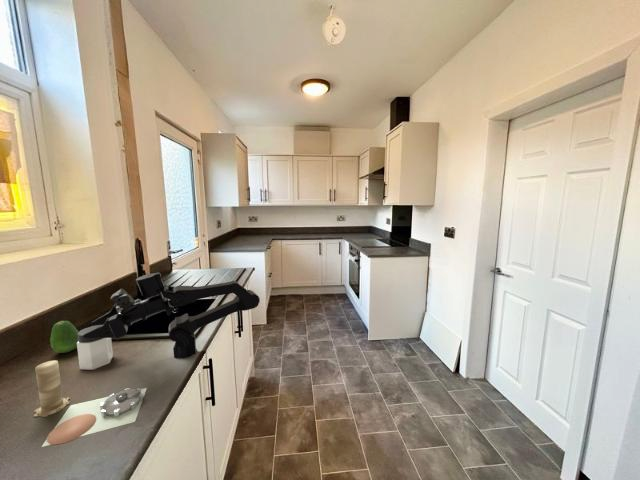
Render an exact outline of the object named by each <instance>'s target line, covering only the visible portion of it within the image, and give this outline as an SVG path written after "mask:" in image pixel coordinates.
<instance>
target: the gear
mask: <svg viewBox="0 0 640 480" xmlns="http://www.w3.org/2000/svg"><path fill="white" fill-rule="evenodd" d="M141 389H142V388H140V387H137V388H129V387H128V388H124V389H123V390H120V391H118V392H116V393H112V394H110V395H108V397H109V398H108V399H107V400H106V401H105V402H103V403H101V405H100V410H101V414H102V417H104V418H105V417H106V416H110V417H111V416H114V417H119V416H120V415H121V414H124V413H126V412H128V411H130V410H131V411H132V410H134V409H135V408H136V406H137V405H138V403H139V402H140V401H142V400H144V398H143V393H142V394H141ZM142 402H143V401H142Z"/></svg>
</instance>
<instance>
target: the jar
mask: <svg viewBox="0 0 640 480" xmlns="http://www.w3.org/2000/svg"><path fill="white" fill-rule="evenodd" d="M99 326H101V325H96V326H92V325H91V326H88V327H86V328H83V329H80V330H78V333H77V337H78V342H77V347H76V349H77V357H78V363H79V364H78V365H79V370H90V371H91V370H92V371H93V370H96V369H98V368H101V367H103V366H106V365H108V364H110V363H111V361H112V359H113V357H114V354H113V353H114V352H113V343H112V338H84V337H83V335H84V334H85V333H87V332H89V331H91V330H93V329H95V328H97V327H99Z"/></svg>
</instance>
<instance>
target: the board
mask: <svg viewBox="0 0 640 480" xmlns="http://www.w3.org/2000/svg"><path fill="white" fill-rule="evenodd" d="M140 389H141V394H142V393H143V400H144V397H145V394H146V391H147V389H148V387H143V388H140ZM108 398H109V396H105V397H102V398H97V399H93V400H88V401H84V402H80V403H75V404H71V405H69V407H68V409H67V410H66V412H65V413H64V414H63V416H62V417H61V418H60V419H59V421H58V423H57V424H56V426H55V427H54V428H53V429H52V430H51V431H50V432H49V434H48V435H47V437H46V440H45V441H44V442H43V444H42V446H41V448H44V447H48V446H51V445H63V444H66V443H69V442H72V441H73V440H75V439H78V438H81V437H85V436H88V435H91V434H95V433H100V432H102V431H103V432H104V431H106V430H107V431H108V430H111V429H114V428H117V427H121V426H125V425H129V424H132V423H133V424H134V423H135V422H136V420H137V418H138V415H139V413H140V410H141V406H142V403H143V400H142V401H140V402H139V403H138V405H137V406H136V408H135V409H134V410H132V411H131V410H130V411H128V412H126V413H124V414H121V415H120V416H119V417H114V416H111V417H110V416H106V417H105V418H104V417H102V414H101V410H100V405H101V403H103V402H105V401H106V400H107V399H108Z"/></svg>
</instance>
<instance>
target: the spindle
mask: <svg viewBox="0 0 640 480" xmlns="http://www.w3.org/2000/svg"><path fill="white" fill-rule="evenodd" d="M34 369H35V377H36V384H37V391H38V397H39V404H40V407H38V408H36V409H35V410H34V411H33V412H34V414H33V417H34V418H38V417H42V418H47V417H49V415H52V414H55V413H59V412H61V411H62V410H63V409H64V408H65V407H66V406H70V403H71V401H69V400H70V399H71V398H70V397H68V396H67V397H63V396H64V395H63V391H62V390H63V389H62V381H61V376H60V367H59V361H58V360H48V361H45V362H42V363H40V364H39V365H37V366H36V367H35V368H34Z"/></svg>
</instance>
